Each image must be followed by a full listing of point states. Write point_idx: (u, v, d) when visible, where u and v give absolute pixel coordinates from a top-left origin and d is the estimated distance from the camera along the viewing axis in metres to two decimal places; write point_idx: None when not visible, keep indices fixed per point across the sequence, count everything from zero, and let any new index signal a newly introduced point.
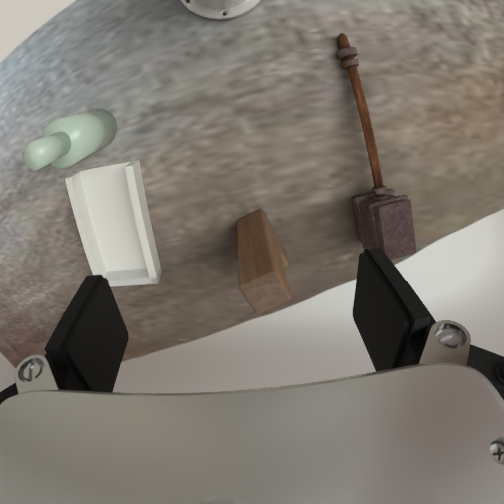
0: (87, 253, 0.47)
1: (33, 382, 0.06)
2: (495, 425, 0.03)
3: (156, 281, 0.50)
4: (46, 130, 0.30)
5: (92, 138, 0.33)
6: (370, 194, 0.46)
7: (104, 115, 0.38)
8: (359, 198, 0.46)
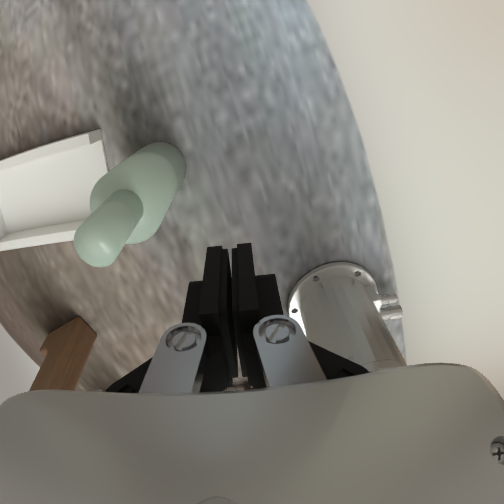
0: (1, 163, 0.27)
1: (176, 353, 0.07)
2: (495, 425, 0.03)
3: None
4: (145, 182, 0.22)
5: None
6: None
7: None
8: None
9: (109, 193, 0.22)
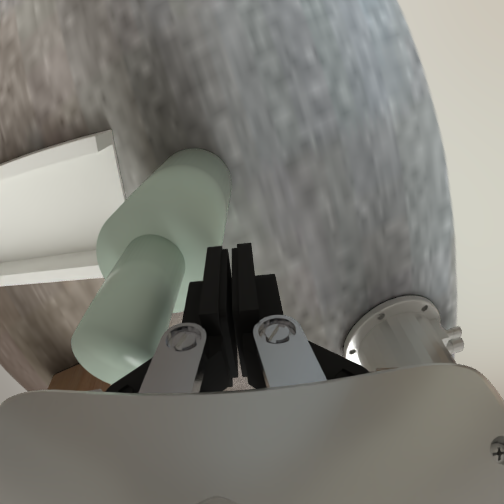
0: None
1: (176, 353, 0.07)
2: (495, 425, 0.03)
3: None
4: (188, 225, 0.14)
5: None
6: None
7: None
8: None
9: (127, 239, 0.14)
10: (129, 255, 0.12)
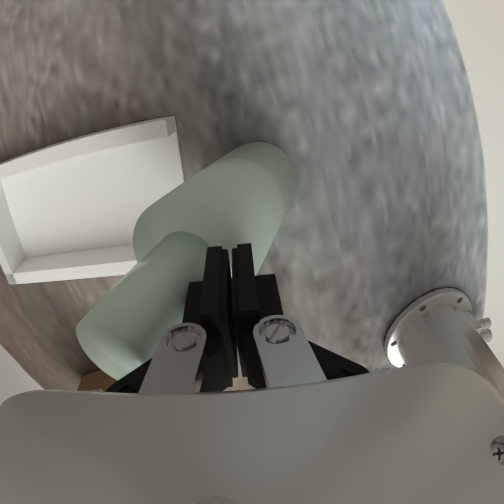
0: (18, 162, 0.19)
1: (176, 353, 0.07)
2: (495, 425, 0.03)
3: (11, 282, 0.25)
4: (224, 228, 0.13)
5: None
6: None
7: None
8: None
9: (163, 233, 0.14)
10: (155, 251, 0.12)
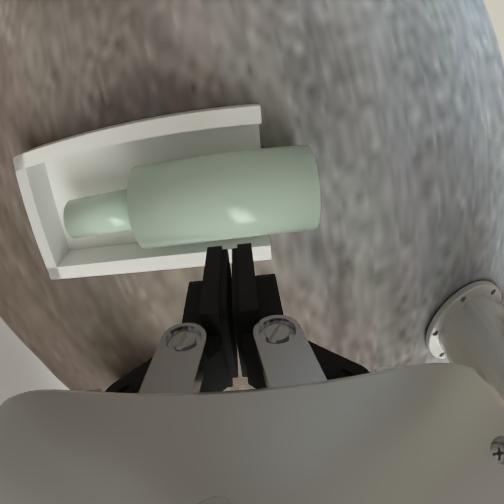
0: (77, 141, 0.19)
1: (176, 353, 0.07)
2: (495, 425, 0.03)
3: (53, 276, 0.24)
4: (128, 196, 0.19)
5: None
6: None
7: (279, 233, 0.22)
8: None
9: None
10: (115, 191, 0.21)
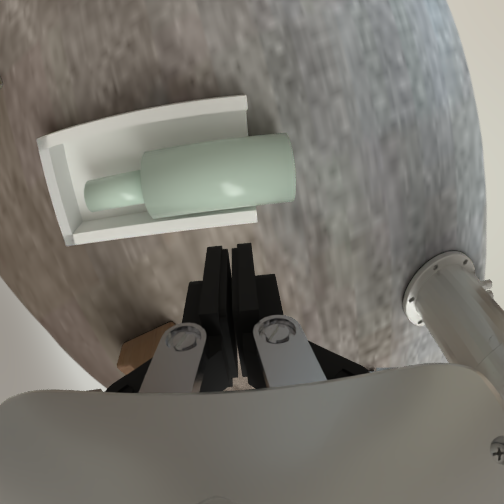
0: (96, 124, 0.23)
1: (176, 353, 0.07)
2: (495, 425, 0.03)
3: (68, 243, 0.29)
4: (141, 180, 0.24)
5: None
6: None
7: (263, 204, 0.27)
8: None
9: None
10: (127, 173, 0.26)
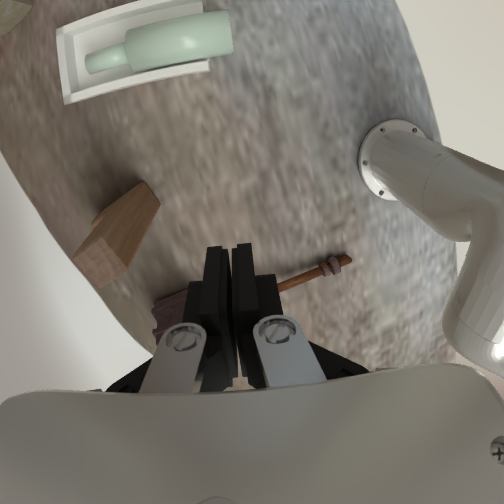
0: (99, 14, 0.28)
1: (176, 353, 0.07)
2: (495, 425, 0.03)
3: (66, 102, 0.33)
4: (125, 42, 0.28)
5: None
6: None
7: (211, 55, 0.32)
8: None
9: None
10: (117, 44, 0.30)
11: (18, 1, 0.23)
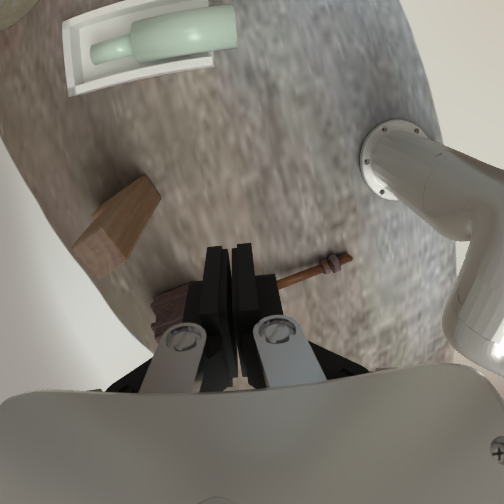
0: (105, 8, 0.28)
1: (176, 353, 0.07)
2: (495, 425, 0.03)
3: (70, 94, 0.33)
4: (131, 31, 0.28)
5: None
6: None
7: (215, 47, 0.31)
8: None
9: None
10: None
11: None
